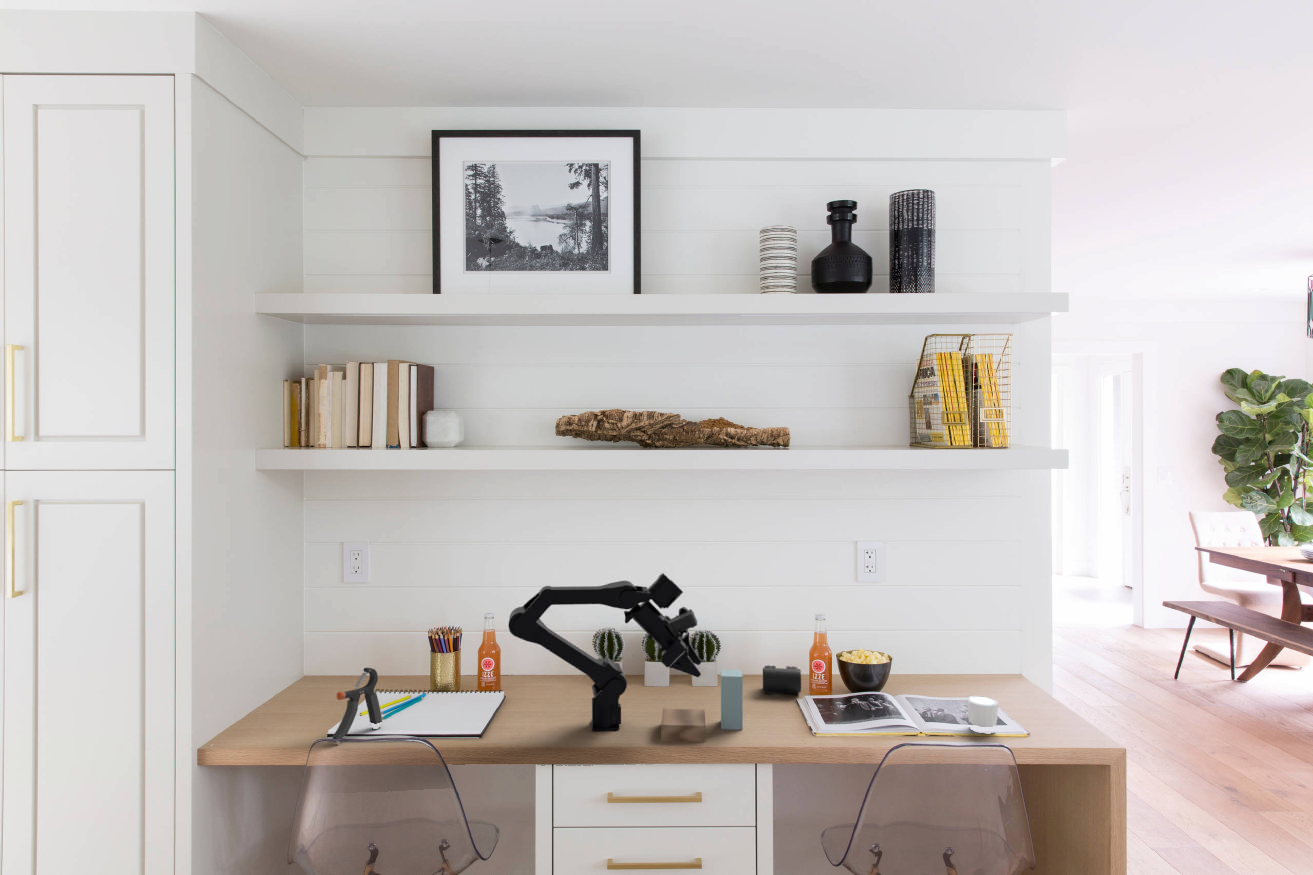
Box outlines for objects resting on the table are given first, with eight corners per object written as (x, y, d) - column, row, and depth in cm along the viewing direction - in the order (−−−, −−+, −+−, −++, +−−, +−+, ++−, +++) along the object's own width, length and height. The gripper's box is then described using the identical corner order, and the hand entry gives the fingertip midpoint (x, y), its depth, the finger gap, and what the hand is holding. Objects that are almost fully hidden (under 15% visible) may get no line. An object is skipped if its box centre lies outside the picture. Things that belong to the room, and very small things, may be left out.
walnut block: (661, 742, 171) (661, 724, 171) (663, 725, 181) (662, 708, 180) (705, 743, 170) (705, 725, 170) (704, 726, 180) (704, 709, 180)
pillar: (721, 729, 177) (721, 676, 177) (720, 721, 182) (720, 669, 182) (742, 729, 177) (742, 676, 177) (741, 721, 182) (741, 670, 182)
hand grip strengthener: (330, 744, 169) (330, 677, 168) (376, 726, 179) (376, 663, 179) (336, 746, 167) (336, 679, 167) (383, 728, 178) (383, 664, 178)
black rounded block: (762, 696, 199) (762, 671, 199) (762, 687, 206) (762, 663, 206) (801, 698, 198) (801, 672, 198) (799, 689, 205) (799, 664, 205)
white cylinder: (999, 727, 178) (1000, 698, 178) (996, 737, 172) (996, 707, 172) (968, 722, 181) (968, 693, 181) (964, 731, 175) (964, 701, 175)
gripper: (675, 608, 171) (724, 657, 170) (678, 591, 190) (722, 635, 189) (641, 642, 172) (689, 691, 171) (647, 622, 190) (691, 666, 189)
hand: (699, 669), depth 180 cm, fingers open, 9 cm apart
